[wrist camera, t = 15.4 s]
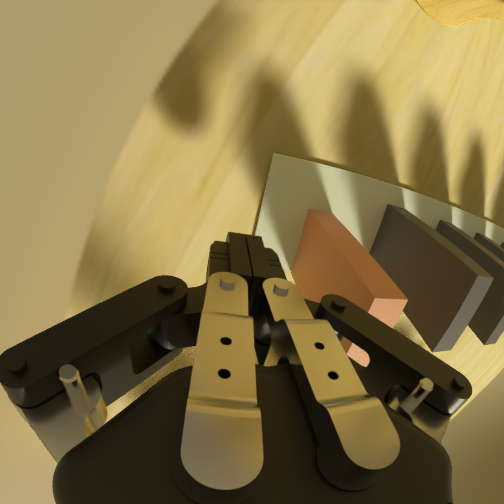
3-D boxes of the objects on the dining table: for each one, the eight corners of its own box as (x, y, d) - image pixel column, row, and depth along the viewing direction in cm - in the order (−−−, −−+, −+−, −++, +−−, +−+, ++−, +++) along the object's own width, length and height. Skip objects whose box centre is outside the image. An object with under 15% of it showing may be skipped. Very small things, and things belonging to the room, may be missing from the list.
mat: (521, 236, 23) (522, 237, 23) (495, 292, 27) (496, 293, 27) (273, 152, 18) (274, 153, 17) (247, 262, 21) (248, 264, 21)
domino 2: (405, 208, 20) (493, 278, 11) (383, 265, 22) (450, 350, 13) (387, 203, 20) (478, 275, 11) (365, 262, 22) (432, 352, 13)
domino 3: (452, 223, 21) (530, 284, 12) (430, 272, 23) (495, 343, 14) (439, 219, 21) (521, 283, 12) (418, 270, 23) (484, 345, 14)
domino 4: (485, 235, 22) (551, 288, 13) (465, 277, 24) (523, 337, 16) (476, 232, 22) (545, 287, 13) (456, 276, 24) (515, 339, 15)
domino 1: (332, 213, 20) (408, 299, 11) (313, 274, 22) (362, 378, 13) (308, 208, 19) (375, 298, 10) (290, 272, 22) (331, 380, 13)
